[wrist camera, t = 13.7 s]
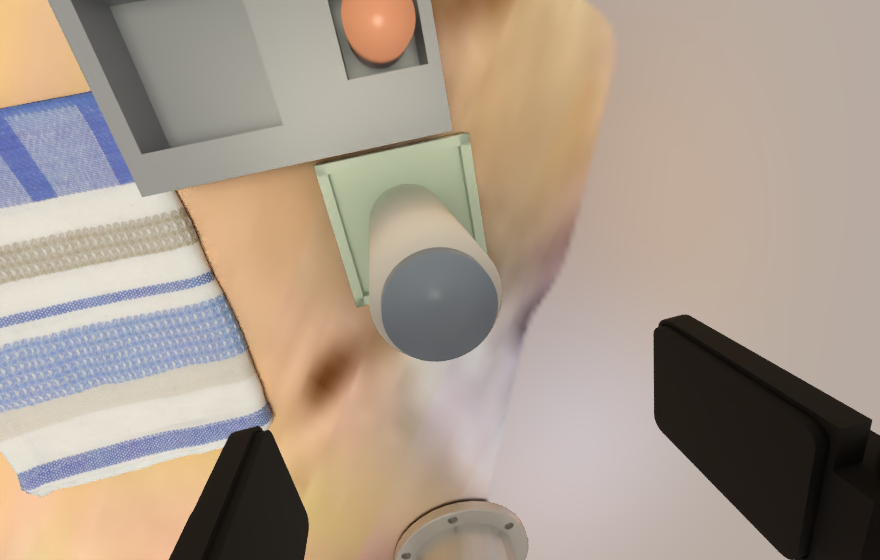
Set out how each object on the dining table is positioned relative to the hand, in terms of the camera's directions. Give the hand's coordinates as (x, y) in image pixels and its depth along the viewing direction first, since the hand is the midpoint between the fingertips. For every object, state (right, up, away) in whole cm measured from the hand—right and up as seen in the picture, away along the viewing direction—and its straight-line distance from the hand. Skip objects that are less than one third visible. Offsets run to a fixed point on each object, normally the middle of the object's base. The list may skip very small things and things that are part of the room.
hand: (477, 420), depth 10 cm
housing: (-9, +15, +13) cm, 22 cm away
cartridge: (-3, +7, +16) cm, 18 cm away
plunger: (-4, +15, +10) cm, 19 cm away
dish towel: (-23, +2, +16) cm, 29 cm away
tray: (-3, +7, +17) cm, 19 cm away
